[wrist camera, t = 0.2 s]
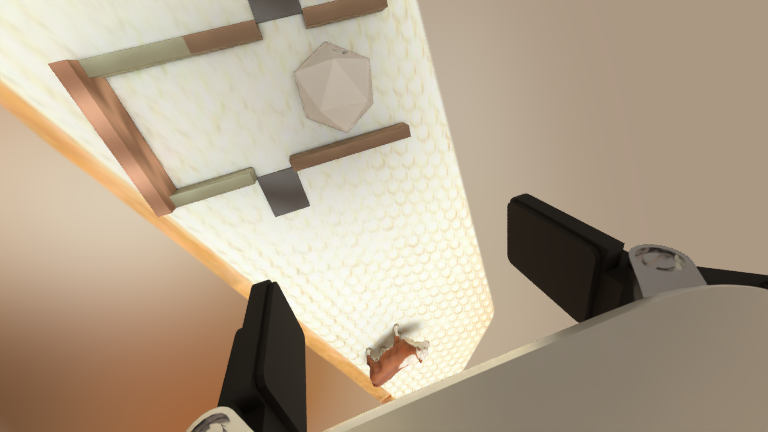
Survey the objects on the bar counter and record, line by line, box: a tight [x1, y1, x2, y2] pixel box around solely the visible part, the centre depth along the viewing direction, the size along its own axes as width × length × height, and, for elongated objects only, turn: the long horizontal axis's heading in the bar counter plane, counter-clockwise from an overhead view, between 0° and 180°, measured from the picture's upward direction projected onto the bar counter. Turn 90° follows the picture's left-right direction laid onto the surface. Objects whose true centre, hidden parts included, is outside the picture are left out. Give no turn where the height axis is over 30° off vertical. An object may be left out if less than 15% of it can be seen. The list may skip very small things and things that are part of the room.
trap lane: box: [48, 0, 411, 217], centre depth 33 cm, size 28×32×4 cm
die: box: [294, 42, 373, 132], centre depth 32 cm, size 8×9×10 cm
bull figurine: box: [366, 324, 430, 387], centre depth 54 cm, size 4×13×8 cm, turn 127°
